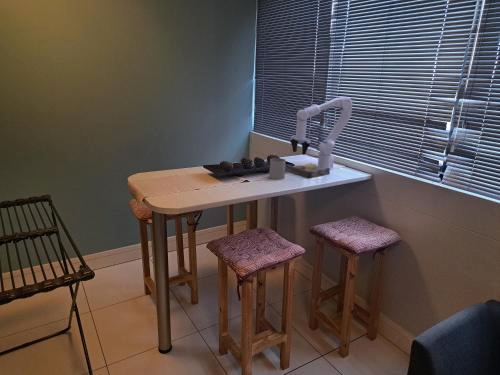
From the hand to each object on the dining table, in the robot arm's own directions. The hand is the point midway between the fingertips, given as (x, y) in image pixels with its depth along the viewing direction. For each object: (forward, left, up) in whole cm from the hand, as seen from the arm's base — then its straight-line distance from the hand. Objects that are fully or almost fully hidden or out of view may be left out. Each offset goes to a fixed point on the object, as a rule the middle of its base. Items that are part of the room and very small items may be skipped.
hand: (299, 153), depth 208 cm
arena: (+4, +9, -9) cm, 14 cm away
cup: (+25, +8, -10) cm, 28 cm away
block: (+5, +13, -9) cm, 16 cm away
